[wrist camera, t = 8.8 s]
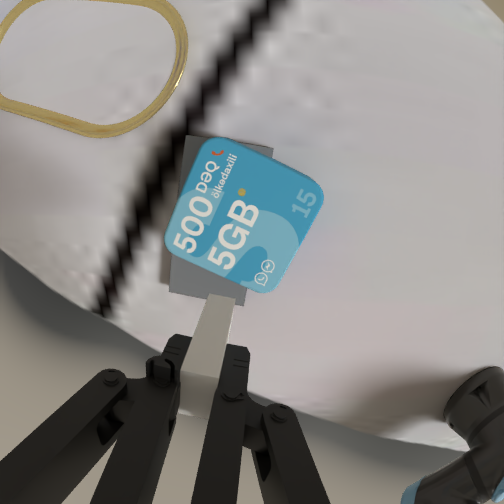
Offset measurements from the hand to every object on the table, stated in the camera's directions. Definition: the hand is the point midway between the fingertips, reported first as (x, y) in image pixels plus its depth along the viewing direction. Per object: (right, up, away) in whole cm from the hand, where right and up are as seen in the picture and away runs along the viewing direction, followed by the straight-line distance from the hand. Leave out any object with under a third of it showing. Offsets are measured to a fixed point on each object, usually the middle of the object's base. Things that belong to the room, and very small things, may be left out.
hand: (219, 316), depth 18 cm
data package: (+6, +5, +13) cm, 16 cm away
